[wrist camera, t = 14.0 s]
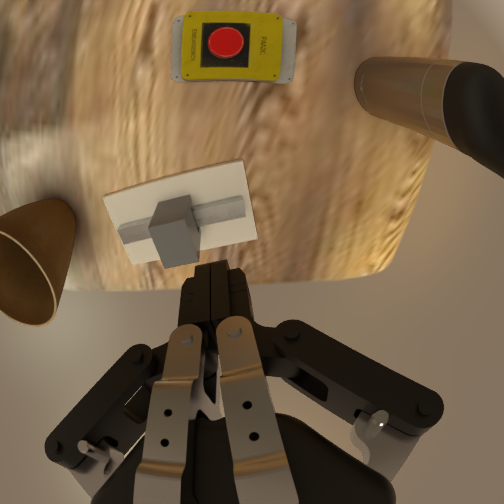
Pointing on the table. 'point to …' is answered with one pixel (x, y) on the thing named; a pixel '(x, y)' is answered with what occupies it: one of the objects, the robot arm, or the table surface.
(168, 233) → the block
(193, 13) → the emergency button
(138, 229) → the rail
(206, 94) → the table surface
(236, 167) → the mounting plate
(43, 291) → the plant pot
